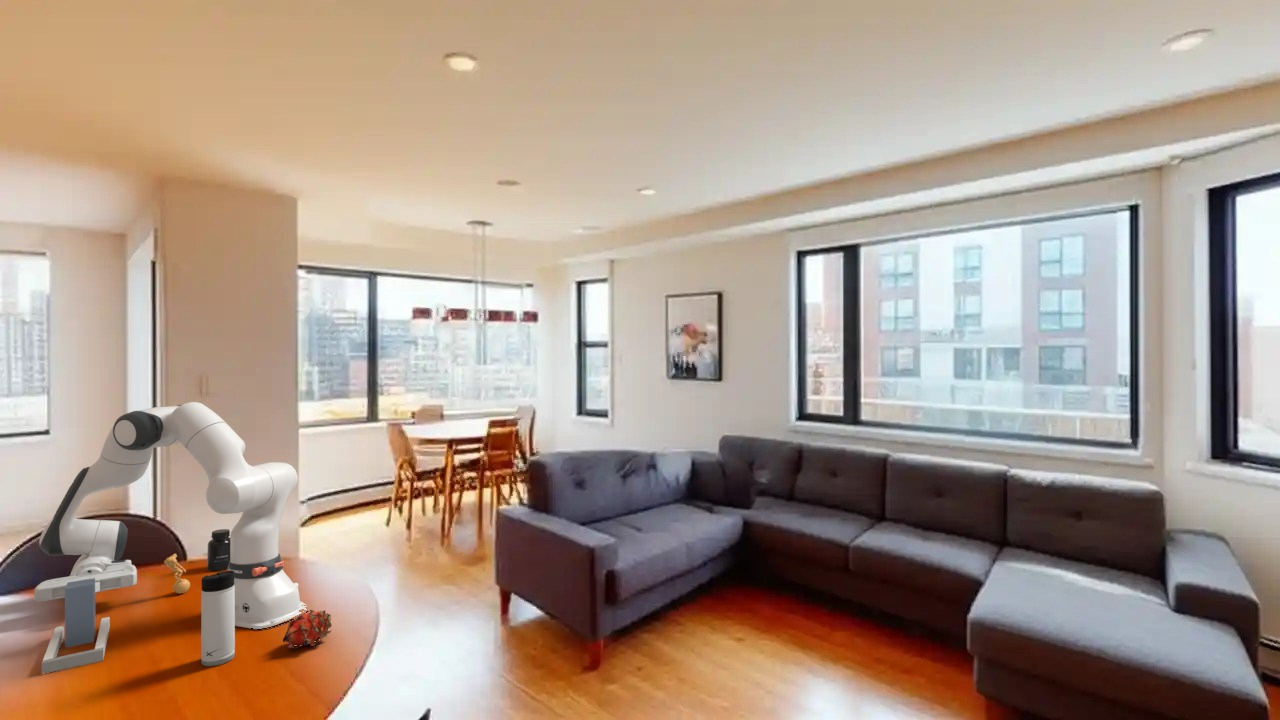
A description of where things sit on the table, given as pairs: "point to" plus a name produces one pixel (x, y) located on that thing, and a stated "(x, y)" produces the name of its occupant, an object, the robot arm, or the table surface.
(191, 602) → the table surface
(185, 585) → the figurine
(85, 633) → the block
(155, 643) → the table surface
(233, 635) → the travel mug
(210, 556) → the supplement bottle
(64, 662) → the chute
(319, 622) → the dragon fruit
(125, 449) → the robot arm
